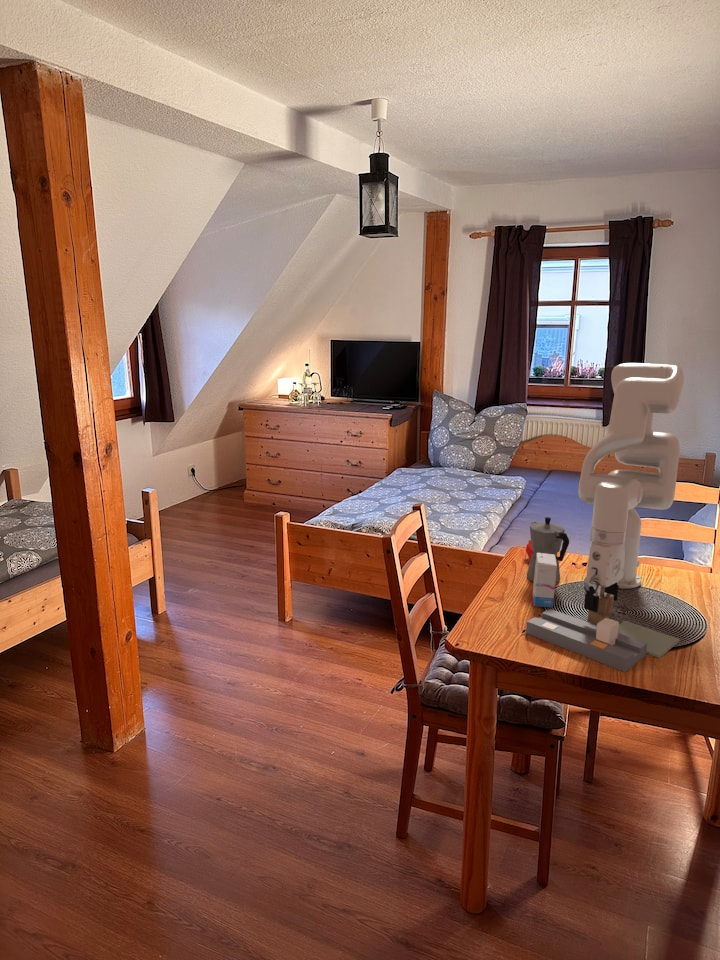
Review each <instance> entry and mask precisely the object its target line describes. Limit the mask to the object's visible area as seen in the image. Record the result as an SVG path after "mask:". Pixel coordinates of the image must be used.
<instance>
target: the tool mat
mask: <svg viewBox="0 0 720 960" xmlns="http://www.w3.org/2000/svg"><path fill="white" fill-rule="evenodd" d="M618 633H620V634H623V635H626V636H628V637H631V638H634V639H637V640H640V641H643V642H645V643H647V651H646V655H649V656H651V657H656V658H658V659H660V658H661V657H662V656H664V655H665V654H666V653H668V652H669V650H671V649H672V648H673V647H674V645H675V646H676V645H677V644H678V643H680V642H681V641H680V638H677V637H675V636H671V635H669V634H665V633H663V632H660V631H657V630H654V629H651V628H647V627H645V626H641V625H639V624H637V623H636V624H635V623H633V622H630V621H627V620H623V621H622V622H619V627H618Z"/></svg>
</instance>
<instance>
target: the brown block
mask: <svg viewBox="0 0 720 960" xmlns="http://www.w3.org/2000/svg"><path fill="white" fill-rule="evenodd" d="M598 596H599V605H598V611H597V612H593V611H590V610H587V611H588V612H587V613H588V614H587V621H586V622H589V623H592V624H594V625H597V623H599V622H600V621H602V620H603V619H605V618H608V619H611V620H613V619H612V616H613V611H614V610H613V609H614V607H613V606H614V601H613V600H614V595H612V594H608V593H605V588H604V587H603V586H601V588H600V591H599V593H598Z"/></svg>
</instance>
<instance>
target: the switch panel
mask: <svg viewBox="0 0 720 960" xmlns="http://www.w3.org/2000/svg"><path fill="white" fill-rule="evenodd" d="M596 632H597V625H594V624H592V623H589V622H587V621H586V620H582V619H579V618H578V617H575V616H572V615H569V614H566V613H563V612H560V611H557V610H555V609H553V608H552V609H551V608H548V609H547V610H544V611H543V612H542V613H541V616H540V617H536V616H534V617H532V618H531V619H530V618H529V619H528V620H527V621H526V631H525V633H526V634H527V635H530V636H533V637H534V638H537V639H540V640H541V641H545V642H547V643H550V644H552V645H555V646H558V647H561V648H562V649H565V650H568V651H570V652H573V653H575V654H578V655H580V656H584V657H585V658H588V659H590V660H593V661H596V662H599V663H602V664H603V665H606V666H609V667H611V668H614V669H616V670H619V671H622V672H624V673H626V672H627V671H628V670H630V669H632V668H633V666H635V665H636V664H637V663H639V662H640V661H642V659H644V658H645V657H646V656H647V654H646V651H647V643H645V642H643V641H640V640H637V639H634V638H631V637H628V636H626V635H623V634H620V633H618V636H617V638H616V640H615V644H614V645H613V646H612V645H609V644H607V643H604V642H601V641H599V640H597V639H596Z"/></svg>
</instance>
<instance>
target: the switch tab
mask: <svg viewBox="0 0 720 960" xmlns="http://www.w3.org/2000/svg"><path fill="white" fill-rule="evenodd" d="M619 624H620V622H619V621H618V620H614V619H608V618H605V619H603V620H602V621H600V622H599V623H597V632H596V639H597V640H599V641H601V642H604V643H607V644H609V645H612V646H613V645H614V644H615V640H616V638H617V636H618V627H619Z"/></svg>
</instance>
